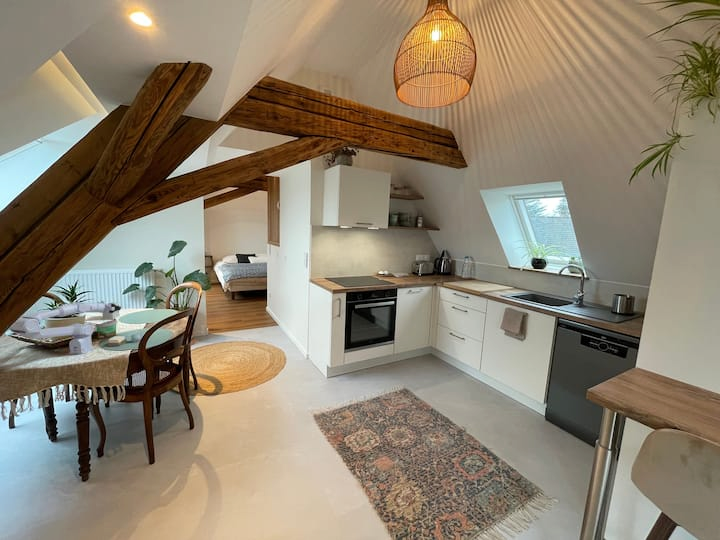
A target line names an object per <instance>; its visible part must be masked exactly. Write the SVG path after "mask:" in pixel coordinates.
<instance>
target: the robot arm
mask: <svg viewBox="0 0 720 540" xmlns="http://www.w3.org/2000/svg"><path fill="white" fill-rule="evenodd" d="M107 304H108V303H106V301H104V300H100V302H99V301H98V302H78V301H77V302H76V301H75V302H74V301H72V302H70V303H69V304H60V306H57V307H55V308H54V309H51V310H46V311H40V312H34V313H29V314H23V316H22V315H20V316H21V317H20V318H19V319H18V320H17V322H15V324H14V325H13V326H12V327H10V328H8V330H10V331H11V333H14V334H17V335H19V336H22V337H24V338H27V339H29V340H30V339H31V340H40V339H49V338H56V337H64V336H72V337H73V338H72V339H71V340H70V341H69V345H68V346H69V352H68V355H74V354H75V355H76V354H79V355H81V354H82V355H83V354H86V353H88V352H90V351H92V350H93V349H96V348H97V346H95V345H94V346H93V343H92V335H93V333H94V330H95V327H94V326H93V325H92V324H84V323H73V324H71V325H67V326H58V327H49V328H48V327H47V328H41V324H42V322H43V320H46V319H49V318H53V317H59V318H63V317H67V316H71V315H74V314H77V313H78V314H85V313H100V314H102V313H103V312H106V311H109V313H114V312H115V311H118V310H119V311H121V309H122V306H121V305H119V306H116V305H115V304H111V306H110V305H107Z"/></svg>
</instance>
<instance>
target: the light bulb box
mask: <svg viewBox="0 0 720 540" xmlns="http://www.w3.org/2000/svg"><path fill="white" fill-rule="evenodd" d="M106 304H107V305H110V306H111V304H115V305H116V306H120V305H119V302H108V303H106ZM101 314H102V321H112V320H114V319H117V318H119V316H120V315H121V314H120V310H118V311H115V312H114V313H109V311H106V312H103V313H101Z"/></svg>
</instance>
